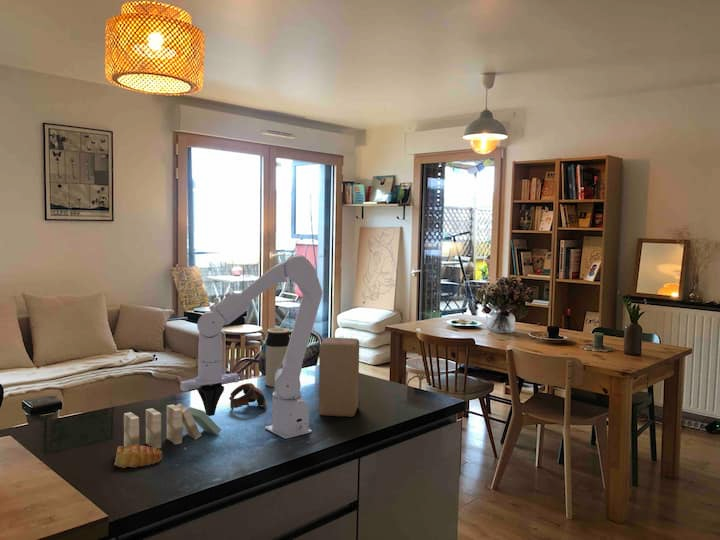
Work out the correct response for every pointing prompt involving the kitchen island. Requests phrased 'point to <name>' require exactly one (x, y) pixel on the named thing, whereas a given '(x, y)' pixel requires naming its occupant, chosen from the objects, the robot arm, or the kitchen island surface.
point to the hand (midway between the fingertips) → (210, 414)
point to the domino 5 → (204, 421)
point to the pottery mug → (247, 396)
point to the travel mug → (275, 351)
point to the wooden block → (338, 377)
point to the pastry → (137, 456)
